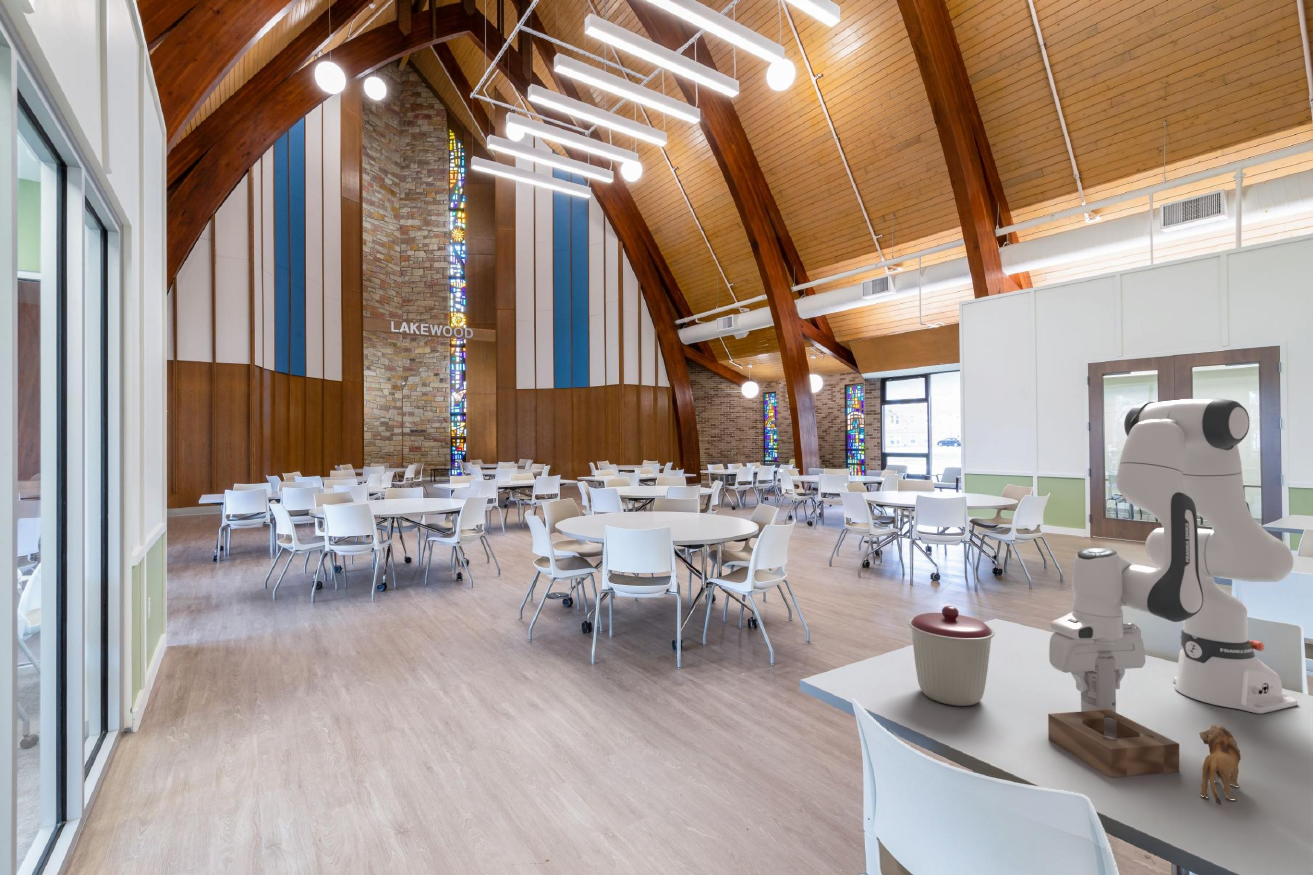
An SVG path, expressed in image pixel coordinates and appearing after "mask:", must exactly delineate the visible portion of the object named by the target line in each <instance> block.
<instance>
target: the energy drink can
mask: <svg viewBox="0 0 1313 875" xmlns="http://www.w3.org/2000/svg"><path fill="white" fill-rule="evenodd" d="M1111 652H1112V651H1104V652H1097V653H1099V654H1098V656H1097V658H1096V660H1095V670H1094V671H1085V676H1082V677H1083V679H1084V681H1085V682H1086V683H1088V684H1089V691H1086V692H1081V691H1080V712H1082V711H1097V710H1112V711H1114V712H1116V713H1117V697H1116V696H1117V695H1116V694H1117V693H1116V692H1117V691H1116V690H1117V689H1116V677H1115V658H1114V657H1113V655H1112V654H1111Z"/></svg>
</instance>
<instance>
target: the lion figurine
mask: <svg viewBox="0 0 1313 875" xmlns="http://www.w3.org/2000/svg"><path fill="white" fill-rule="evenodd" d="M1198 735H1199V738H1200V739H1201V741H1203V744H1204V745H1208V749H1209V755H1207V756H1206V757H1204V758H1205V759H1204V762H1203V764H1202V768H1201V769H1202V780H1201V784H1200V789H1201V792H1200V794H1201V795H1202V796H1204V797H1209V798H1210V795H1209V792H1208V791H1209V790H1208V789H1209V786H1210V789H1211V793H1212V795H1213V796H1214V799H1215V803H1216V804H1217V805H1218V806H1222V805H1223V803H1222V800H1221V799H1220V796H1219V795H1218V793H1217V791H1216V785H1215V783H1219V782H1220V780H1221V784H1222V786H1223V789H1222V791H1223V794H1224V796H1225V798H1226V797H1227V798H1229V799H1236V797H1235V796H1234V795H1232V794H1231V785H1230V784H1232V785H1234V786H1239V787H1240V784H1238V783H1237V781H1238V777H1239V776H1238V775H1239V772H1240V771H1239V764H1240V761H1241V759H1242V756H1241V750H1240V749H1239V746H1238V742H1237V740H1236V739H1235V738H1234V736H1233V734H1232V733H1231V732H1230V731H1229V730H1228V729H1226V728H1225V727H1224V726H1222V725H1217V724H1216V725H1215V724H1212V725H1210V728H1209V729H1208V730H1206V731H1202V732H1199V733H1198ZM1209 779H1210V780H1209ZM1214 781H1215V782H1214ZM1227 798H1226V799H1227ZM1236 800H1237V799H1236Z"/></svg>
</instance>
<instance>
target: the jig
mask: <svg viewBox="0 0 1313 875" xmlns="http://www.w3.org/2000/svg"><path fill="white" fill-rule="evenodd" d="M1047 719H1048V722H1047V723H1048V724H1047V725H1048V728H1047V731H1048V732H1047V734H1048V735H1047V736H1048V738H1047V739H1048V740H1049V741H1051V742H1052V743H1054V744H1056V745H1057V746H1059V747H1060V748H1063V749H1064V750H1066V752H1068V753H1071V754H1072V755H1074V756H1075V757H1076V758H1079V759H1080V760H1082V761H1083V762H1085V763H1086V764H1088V765H1089V766H1091V767H1094V769H1097V770H1098V771H1100V772H1101V773H1102V774H1105V775H1106V776H1107V777H1110V778H1120V777H1132V776H1144V775H1154V774H1155V775H1157V774H1167V773H1169V774H1170V773H1177V772H1180V743H1179V742H1177V741H1175V740H1172V739H1170V738H1169V737H1167V736H1164V735H1163V734H1160V733H1158V732H1156V731H1154V730H1153V729H1150V728H1148V727H1146V726H1145V725H1143V724H1140V723H1138V722H1136V721H1134V720H1132V719H1129V718H1128V717H1126V716H1123V715H1122V714H1120V713H1118V712H1117V711H1116V712H1114V711H1112V710H1097V711H1082V712H1081V711H1072V712H1070V711H1069V712H1056V713H1055V712H1053V713H1048V716H1047Z"/></svg>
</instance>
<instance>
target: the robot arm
mask: <svg viewBox="0 0 1313 875" xmlns="http://www.w3.org/2000/svg"><path fill="white" fill-rule="evenodd" d="M1249 416H1250V415H1249V413H1248V411H1247V409H1246V408H1245V407H1244V406H1243V405H1242V404H1241V403H1240V402H1238V401H1236V400H1232V399H1225V398H1215V399H1207V398H1204V399H1202V398H1182V399H1178V400H1176V399H1174V400H1166V401H1157V402H1155V401H1148V402H1144V403H1139V404H1136V405H1134V406H1133V407H1132V408H1131V409H1130V410H1129V411H1128V412H1127V414H1126V416H1125V418H1124V424H1123V427H1124V432H1125V434H1126V436H1127V437H1126V440H1125V443H1124V445H1123V448H1122V451H1121V455H1120V459H1119V463H1118V467H1117V474H1116V487H1117V490H1118V491H1119V493H1120V495H1121V496H1122V497H1123V499H1125V500H1126V501H1127V502H1128V503H1129V504H1131V505H1133V506H1134V507H1136V508H1138V509H1140V510H1142V511H1145V512H1147V513H1148V514H1150V515H1152V516H1153V517H1155V518H1156V519H1157V520H1158V521H1159V523H1160V524H1161V527H1157V528H1155V529H1153V530H1152V531H1151V532H1150V533H1149V535H1147V538H1146V540H1145V552H1146V555H1147V557H1148V558H1149V560H1150V561H1151V562H1152V564H1154V565H1155V566H1157V567H1153V566H1149V565H1143V564H1139V563H1134V562H1132V561H1129V560H1127V559H1124V558H1123V557H1121V556H1120V555H1119V553H1118V551H1116V550H1114V549H1111V548H1107V547H1086V548H1083V549H1080V550H1079V551H1077V552H1075V556H1074V558H1073V564H1072V570H1071V571H1072V572H1071V589H1072V592H1073V597H1074V598H1073V603H1072V604H1071V606H1072V607H1071V610H1072V611H1071V612H1069V613H1067V614H1065V615H1063V616H1060V617H1059V618H1056V619H1054V620H1052V621H1051V622H1050V629H1051V630H1052V631H1053V633H1052V634H1051V636H1050V639H1049V648H1048V651H1049V652H1048V655H1049V656H1048V658H1049V660H1048V661H1049V663H1050V665H1051V667H1052V668H1054V669H1055V670H1057V671H1060V672H1062V673H1067V674H1069V673H1070V674H1071V676H1072V677H1073V680H1074V681H1075V687H1076V688H1075V689H1076V690H1077V691H1079V692H1080V693H1081V692H1086V691H1089V684H1088V683H1086V682H1085V681H1084V679H1083V677H1082V676H1085V671H1094V670H1095V660H1096V658H1097V656H1098V654H1099V653H1097V652H1104V651H1112V652H1111V654H1112V655H1113V657H1114V658H1115V677H1116V690H1120V688H1121V681H1122V680H1123V678H1124V676H1125V674H1126V670H1129V669H1141V668H1143V667H1144V666H1145V665H1146V653H1145V651H1146V650H1145V646H1144V641H1143V638H1142V631H1141V628H1140V627H1139V626H1138V625H1137V624H1135V623H1133V622H1128V623H1124V611H1123V609H1122V607H1126V608H1129V609H1132V610H1136V611H1139V612H1144V613H1147V614H1152V615H1154V616H1156V617H1159V618H1162V619H1164V620H1167V621H1170V622H1174V623H1178V622H1179V623H1180V622H1183V629H1182V630H1181V631H1180V636H1179V637H1180V645H1181V646H1182V649H1180V650H1179V653H1178V663H1177V671H1176V676H1173V680H1172V681H1173V683H1175V685H1174V689H1175V690H1176V691H1177V692H1179V693H1180V694H1182V695H1184V696H1186V697H1189V698H1191V699H1193V700H1197V701H1200V702H1203V703H1207V704H1209V705H1210V704H1211V705H1215V706H1219V707H1224V708H1230V709H1238V710H1241V711H1245V712H1248V713H1249V712H1251V713H1254V714H1265V713H1270V712H1274V711H1278V710H1282V709H1286V708H1290V707H1295V706H1298V704H1299V703H1298V700H1297V699H1296V698H1294V697H1292V696H1290V695H1289V694H1286V693H1284V692H1283V685H1282V679H1281V677H1280V675H1279V674H1278V673H1277V672H1275V671H1274V670H1273V669H1271V668H1270V667H1269V666H1267V665H1266V663H1263V662H1262V661H1261V660H1260V659H1258V658H1257V657H1256V655H1255V652H1254V650H1257V651H1258V652H1262V651H1264V649H1265V644H1264V643H1263V642H1261V641H1256V640H1255V639H1254V640H1253V639H1251V640H1249V639H1248V638H1249V637H1248V636H1249V634H1248V632H1249V631H1248V627H1249V626H1248V609H1247V608H1246V605H1244V604H1243V602H1242V601H1241V600H1239V599H1238V598H1237V597H1236V596H1233V595H1232V594H1230V593H1228V592H1227V591H1224V590H1223V589H1222V588H1220V586H1219V585H1218V584H1217V582H1216V580H1215V579H1214V577H1216V578H1222V579H1226V580H1227V579H1228V580H1235V581H1242V582H1247V583H1249V582H1251V583H1277V582H1281V581H1283V580H1284V579H1285V578H1286V577H1288V576H1289V574H1290V573H1291V571H1292V570H1293V566H1294V558H1293V557H1294V556H1293V554H1292V552H1291V549H1290V548H1289V547H1288V545H1287V544H1285V543H1284V542H1283V541H1282V540H1281V539H1279V538H1278V537H1276V536H1274V535H1272V534H1271V533H1269V531H1267V530H1266V529H1265V528H1263V527H1262V525H1260V524H1259V522H1257V520H1256V519H1255V517H1253V515H1252V513H1251V511H1250V510H1249V508H1248V505H1247V502H1246V501H1247V500H1246V497H1245V491H1244V483H1243V482H1244V481H1243V480H1244V479H1243V469H1242V460H1241V455H1240V449H1239V447H1238V445H1239V444H1240V443H1242V441H1243V440H1244V439H1245V438H1246V437H1247V435H1248V433H1249V430H1250V417H1249ZM1198 516H1199V517H1201V518H1203V519H1204V520H1206V522H1207V523H1208V524H1209V525H1210V526H1211V529H1209V528H1199V526H1198Z"/></svg>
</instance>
